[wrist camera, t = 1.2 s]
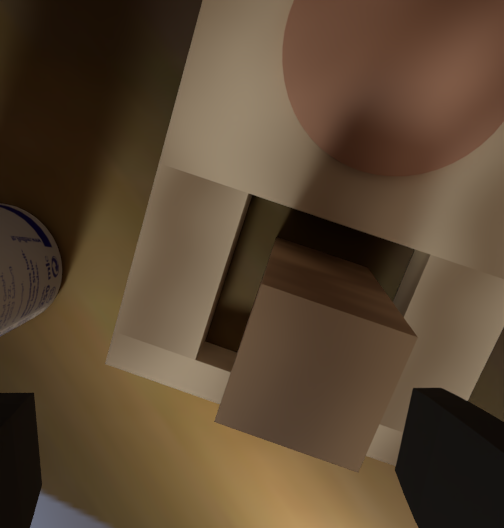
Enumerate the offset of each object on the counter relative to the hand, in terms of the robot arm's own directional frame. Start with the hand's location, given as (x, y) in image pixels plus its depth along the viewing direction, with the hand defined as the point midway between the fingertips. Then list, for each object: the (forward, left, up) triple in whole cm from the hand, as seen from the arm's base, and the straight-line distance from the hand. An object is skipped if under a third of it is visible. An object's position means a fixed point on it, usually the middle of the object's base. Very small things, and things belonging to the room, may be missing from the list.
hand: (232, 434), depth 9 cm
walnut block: (-2, 0, -11) cm, 11 cm away
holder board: (-2, -5, -11) cm, 12 cm away
